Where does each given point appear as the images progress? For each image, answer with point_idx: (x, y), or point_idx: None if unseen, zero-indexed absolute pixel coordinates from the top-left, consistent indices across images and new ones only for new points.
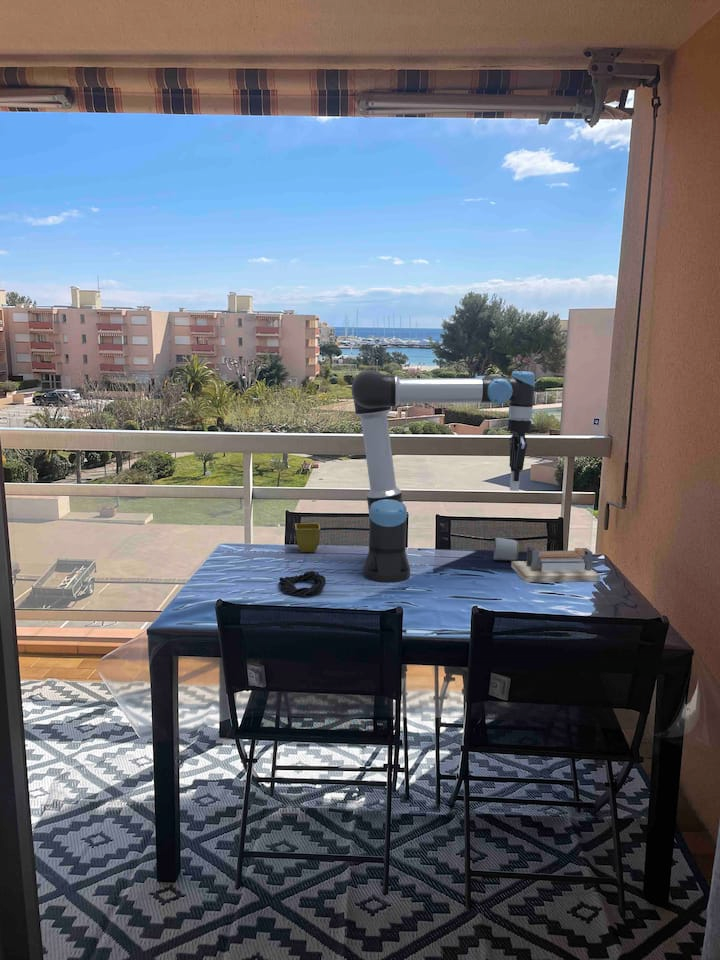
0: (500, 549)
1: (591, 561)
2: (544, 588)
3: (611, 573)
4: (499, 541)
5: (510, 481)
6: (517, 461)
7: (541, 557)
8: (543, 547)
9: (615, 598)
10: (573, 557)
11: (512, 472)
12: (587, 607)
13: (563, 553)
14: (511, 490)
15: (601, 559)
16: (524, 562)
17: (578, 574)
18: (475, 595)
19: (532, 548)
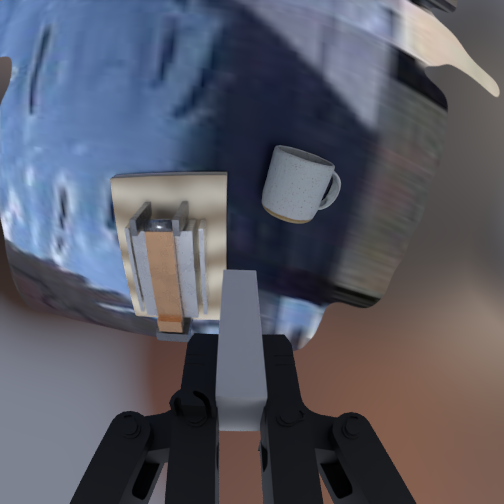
0: (273, 161)
1: None
2: (84, 203)
3: None
4: (290, 165)
5: (254, 312)
6: (78, 493)
7: None
8: (365, 288)
9: (66, 295)
10: None
11: (216, 385)
12: (24, 243)
13: (155, 290)
14: (223, 274)
15: None
16: (214, 204)
17: (134, 285)
18: (47, 68)
19: (173, 230)
